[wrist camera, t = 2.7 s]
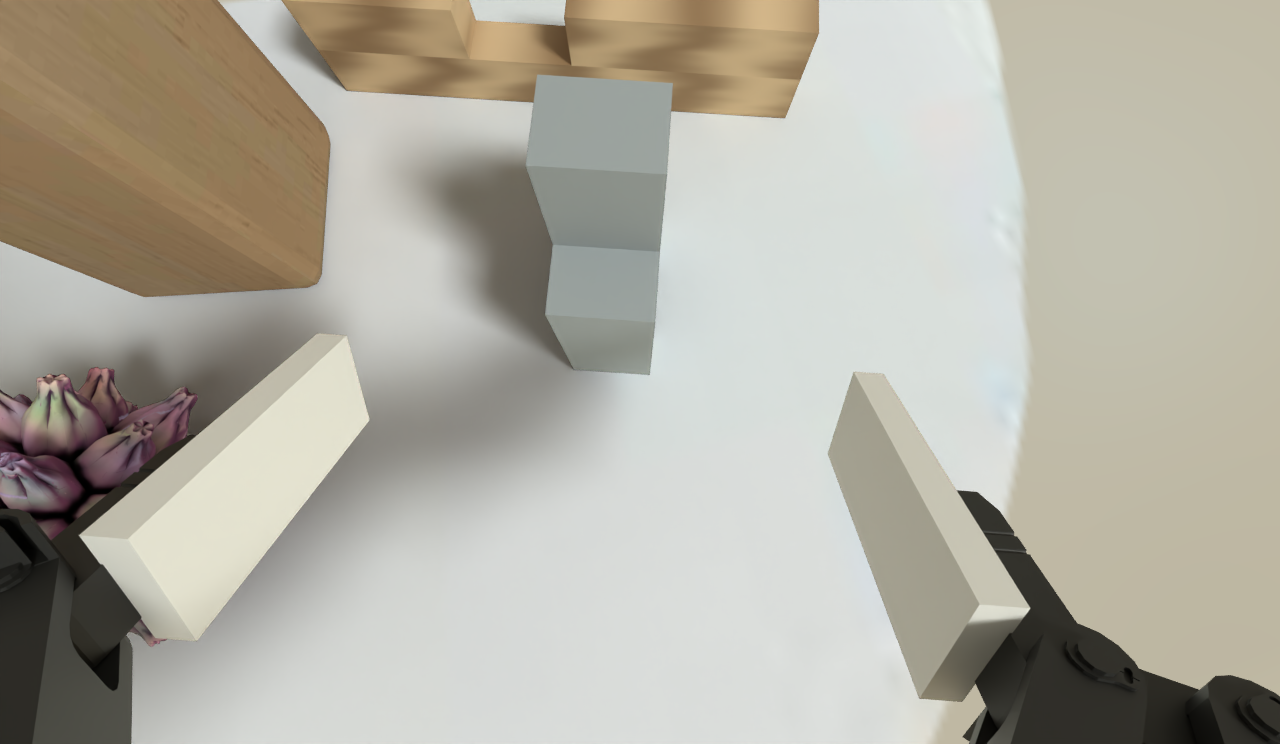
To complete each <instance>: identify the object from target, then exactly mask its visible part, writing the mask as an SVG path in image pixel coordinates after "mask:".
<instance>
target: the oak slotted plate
mask: <svg viewBox="0 0 1280 744" xmlns="http://www.w3.org/2000/svg"><path fill="white" fill-rule="evenodd" d="M282 2H283V3H284V4H285V6H286V7H287V9H288V10H289V11H290V13H291V14H292V15H293V17H294V18H295V20H296V21H297V22H298V24H299V25H300V27H301V28H302V29H303V31H304V32H305V33H306V35H307V36H308V38H309V39H310V40H311V42H312V43H313V44H314V46H315V47H316V49H317V50H318V51H319V53H320V54H321V55H322V57H323V58H324V60H325V61H326V62H327V64H328V65H329V66H330V68H331V69H332V71H333V72H334V73H335V75H336V76H337V78H338V79H339V80H340V82H341V83H342V84H343V86H344V87H345V89H346V90H348V91H364V92H379V93H395V94H411V95H427V96H443V97H459V98H475V99H491V100H507V101H522V102H534V96H535V88H536V80H537V75H551V76H567V77H583V78H599V79H615V80H631V81H647V82H663V83H673V88H672V104H671V111H681V112H697V113H713V114H729V115H745V116H761V117H777V118H785V117H786V115H787V112H788V110H789V107H790V105H791V102H792V100H793V97H794V95H795V92H796V89H797V87H798V84H799V82H800V79H801V77H802V74H803V72H804V69H805V67H806V64H807V62H808V59H809V57H810V54H811V52H812V49H813V47H814V44H815V42H816V39H817V36H818V34H819V0H566V7H565V15H564V19H565V26H556V25H540V24H524V23H507V22H491V21H476V19H475V16H474V13H473V11H472V8H471V5H470V2H469V0H282Z"/></svg>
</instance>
